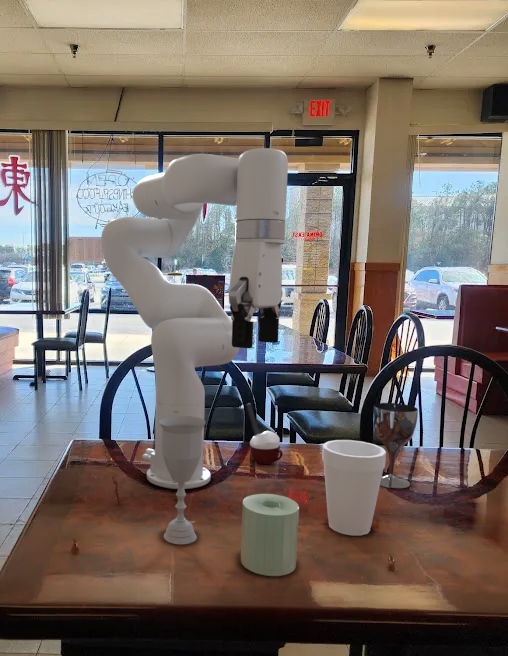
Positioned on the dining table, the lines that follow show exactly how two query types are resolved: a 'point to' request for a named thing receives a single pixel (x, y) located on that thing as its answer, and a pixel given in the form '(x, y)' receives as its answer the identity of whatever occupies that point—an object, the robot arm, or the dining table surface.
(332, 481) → the foam cup
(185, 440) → the chalice
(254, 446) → the cocoa
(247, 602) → the dining table surface
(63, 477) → the dining table surface
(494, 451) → the dining table surface
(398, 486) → the wine glass
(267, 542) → the mug
